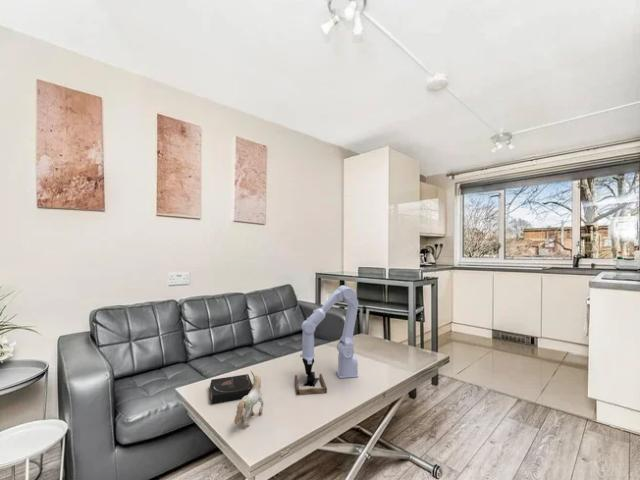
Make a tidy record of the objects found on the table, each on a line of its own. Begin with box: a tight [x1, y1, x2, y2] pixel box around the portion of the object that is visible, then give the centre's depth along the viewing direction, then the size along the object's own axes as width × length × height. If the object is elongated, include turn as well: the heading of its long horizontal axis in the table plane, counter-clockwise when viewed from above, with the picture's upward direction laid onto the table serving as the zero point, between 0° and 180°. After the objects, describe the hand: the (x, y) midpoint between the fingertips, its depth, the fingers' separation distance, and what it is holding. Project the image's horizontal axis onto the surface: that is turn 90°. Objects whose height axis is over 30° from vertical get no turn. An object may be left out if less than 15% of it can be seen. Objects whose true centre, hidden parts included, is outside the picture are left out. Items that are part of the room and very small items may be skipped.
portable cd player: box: [209, 373, 253, 405], centre depth 131 cm, size 16×17×4 cm
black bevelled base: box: [302, 371, 320, 388], centre depth 141 cm, size 12×7×5 cm, turn 168°
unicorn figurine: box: [233, 370, 265, 428], centre depth 111 cm, size 7×20×13 cm, turn 176°
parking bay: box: [294, 373, 328, 396], centre depth 137 cm, size 13×16×2 cm
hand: (308, 373), depth 145 cm, fingers closed
